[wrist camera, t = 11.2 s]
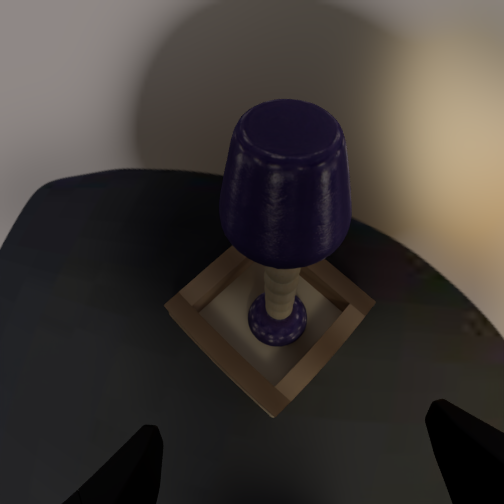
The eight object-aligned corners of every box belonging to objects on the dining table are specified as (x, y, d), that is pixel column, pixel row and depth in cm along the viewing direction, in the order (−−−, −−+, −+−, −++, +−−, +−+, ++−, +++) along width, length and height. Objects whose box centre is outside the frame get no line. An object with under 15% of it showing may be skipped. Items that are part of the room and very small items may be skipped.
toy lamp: (268, 364, 21) (295, 224, 6) (226, 315, 22) (172, 119, 8) (318, 320, 22) (413, 136, 7) (275, 276, 24) (296, 67, 9)
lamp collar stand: (272, 417, 20) (275, 419, 17) (171, 317, 23) (161, 305, 21) (364, 314, 23) (377, 301, 21) (267, 232, 27) (268, 212, 24)
